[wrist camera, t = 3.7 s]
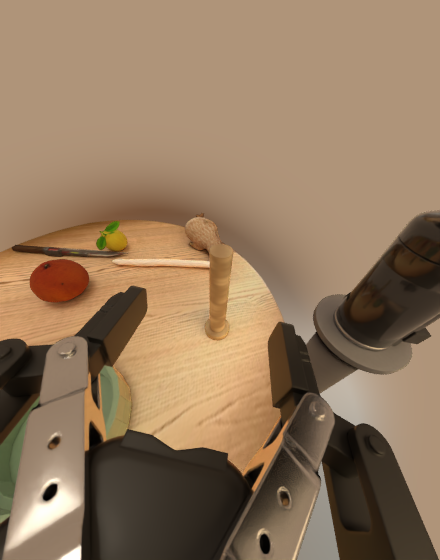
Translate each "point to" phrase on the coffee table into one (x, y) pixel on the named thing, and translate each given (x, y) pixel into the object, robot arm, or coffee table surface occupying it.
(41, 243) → the coffee table surface
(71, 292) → the fruit
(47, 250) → the knife
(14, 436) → the bowl
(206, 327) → the stick
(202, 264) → the cream knobbed rod
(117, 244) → the lemon
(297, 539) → the robot arm
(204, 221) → the figurine
